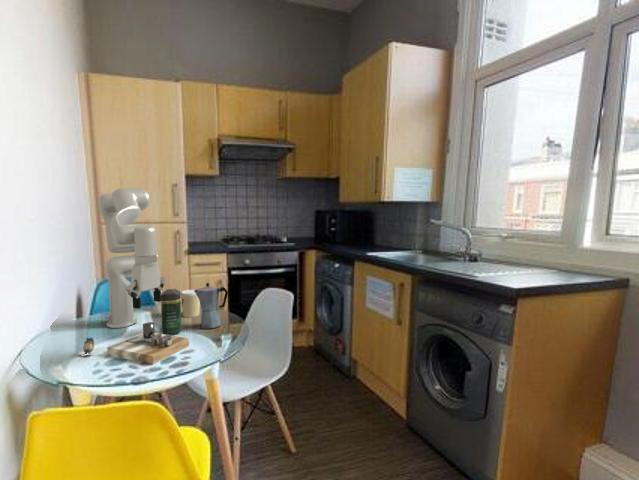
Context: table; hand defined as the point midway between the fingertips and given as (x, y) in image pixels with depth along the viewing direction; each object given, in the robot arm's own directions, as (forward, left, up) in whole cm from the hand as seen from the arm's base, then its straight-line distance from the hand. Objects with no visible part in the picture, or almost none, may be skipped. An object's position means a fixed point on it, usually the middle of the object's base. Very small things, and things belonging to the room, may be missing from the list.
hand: (147, 304), depth 137 cm
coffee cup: (-15, +42, -18) cm, 48 cm away
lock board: (0, 0, -18) cm, 18 cm away
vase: (-18, -11, -18) cm, 28 cm away
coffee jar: (-6, +19, -18) cm, 27 cm away
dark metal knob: (+4, 0, -14) cm, 14 cm away
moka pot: (+5, +32, -18) cm, 37 cm away
